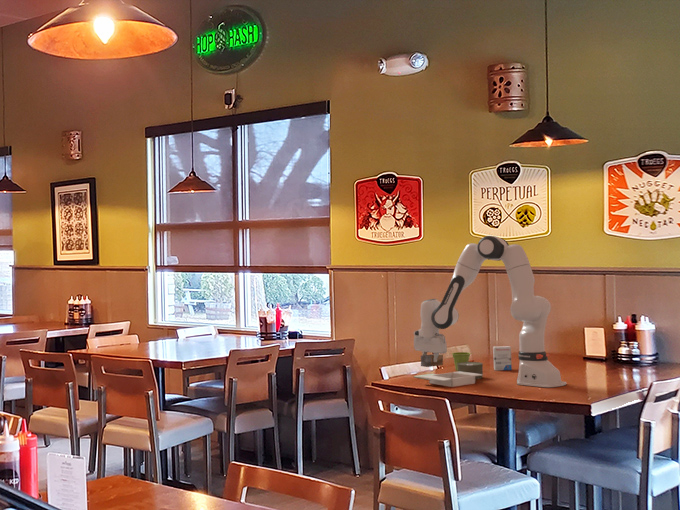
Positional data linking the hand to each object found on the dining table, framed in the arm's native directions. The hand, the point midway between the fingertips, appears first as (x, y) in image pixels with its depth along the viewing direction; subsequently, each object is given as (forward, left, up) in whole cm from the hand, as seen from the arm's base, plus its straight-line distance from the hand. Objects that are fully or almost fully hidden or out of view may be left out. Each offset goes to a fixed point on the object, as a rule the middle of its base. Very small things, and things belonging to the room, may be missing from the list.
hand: (430, 361), depth 388 cm
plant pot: (+7, -27, -8) cm, 29 cm away
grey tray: (-20, +5, -8) cm, 22 cm away
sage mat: (0, 0, -8) cm, 8 cm away
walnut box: (0, -1, -2) cm, 2 cm away
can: (-14, -13, -8) cm, 20 cm away
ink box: (-6, -43, -8) cm, 44 cm away
